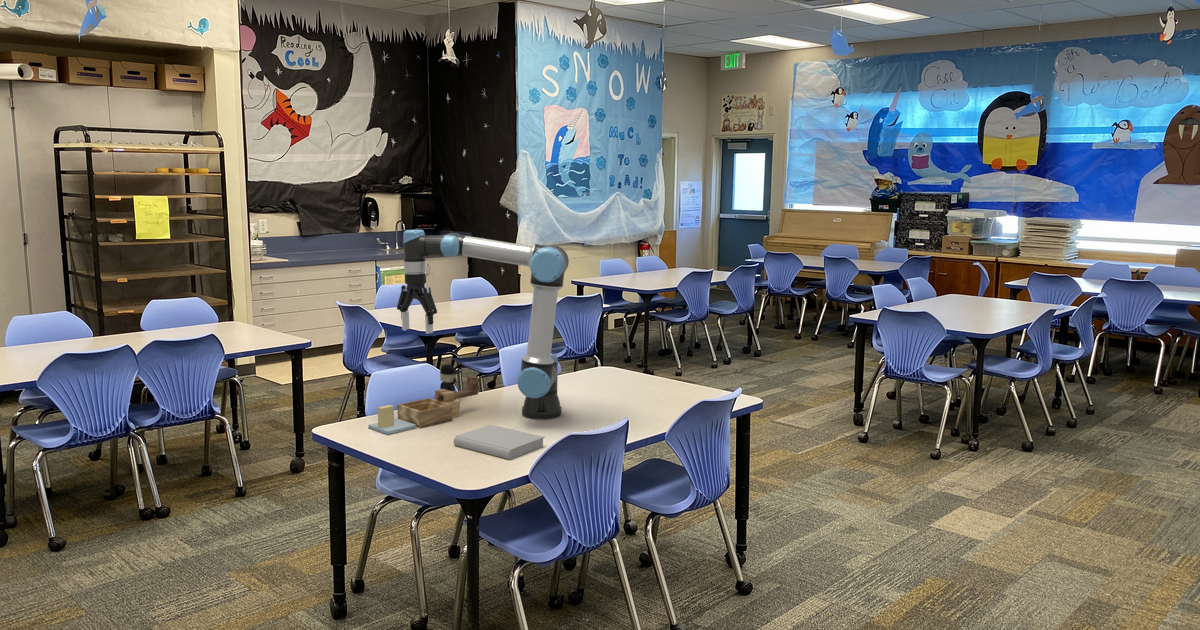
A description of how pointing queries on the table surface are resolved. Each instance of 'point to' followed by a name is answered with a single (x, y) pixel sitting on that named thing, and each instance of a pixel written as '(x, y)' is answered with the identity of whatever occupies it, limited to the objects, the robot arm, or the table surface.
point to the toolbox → (430, 409)
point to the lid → (389, 421)
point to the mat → (392, 433)
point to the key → (468, 388)
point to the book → (499, 441)
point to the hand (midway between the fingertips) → (417, 331)
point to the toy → (448, 377)
